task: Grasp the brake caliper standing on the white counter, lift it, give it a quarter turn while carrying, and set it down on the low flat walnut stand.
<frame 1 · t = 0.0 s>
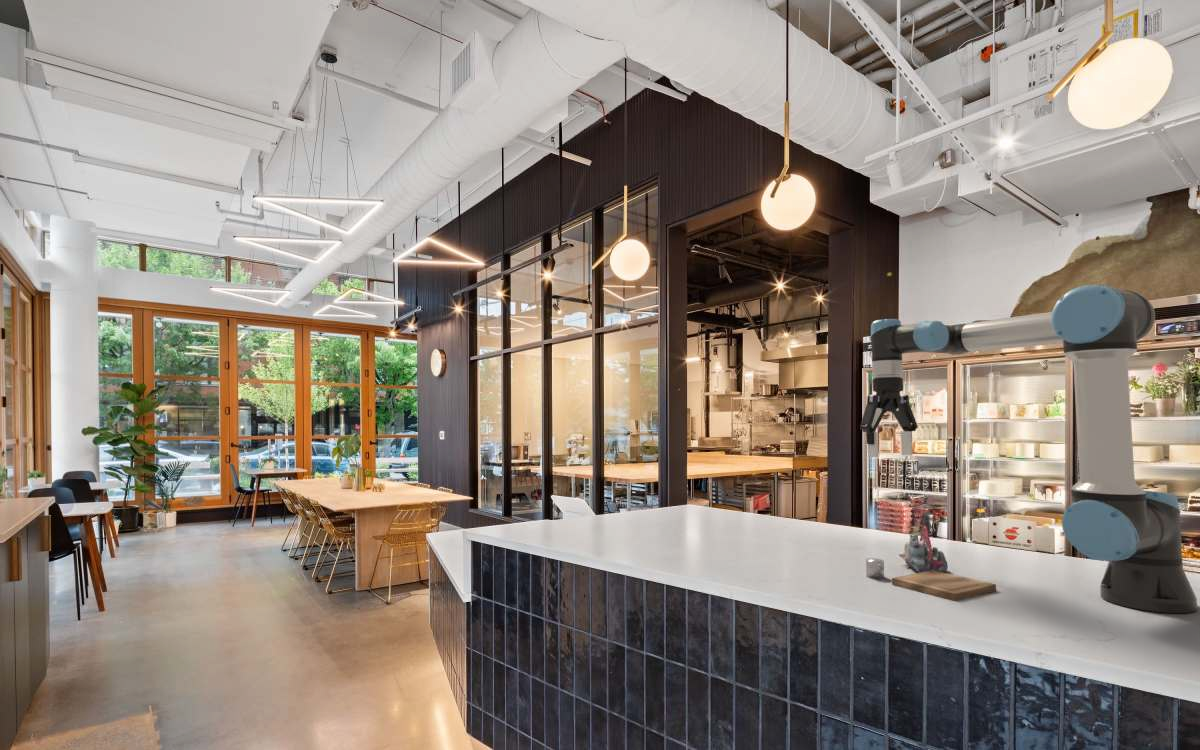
hand: (890, 456, 169), 28 cm above the counter, fingers open, 13 cm apart
stand: (943, 587, 143), on the counter
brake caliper: (924, 571, 159), on the counter
grey metallic cube: (875, 576, 153), on the counter
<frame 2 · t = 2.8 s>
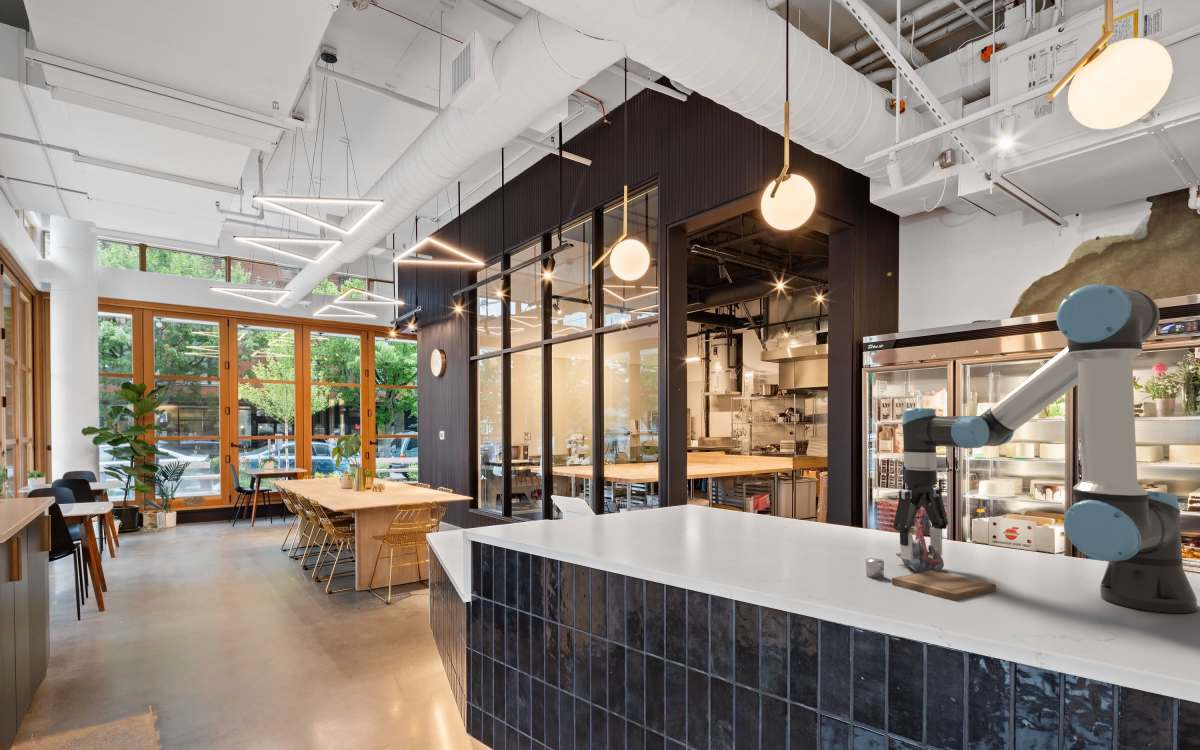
hand: (921, 556, 159), 3 cm above the counter, fingers open, 11 cm apart
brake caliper: (921, 569, 160), on the counter, touching gripper
everything else where it was.
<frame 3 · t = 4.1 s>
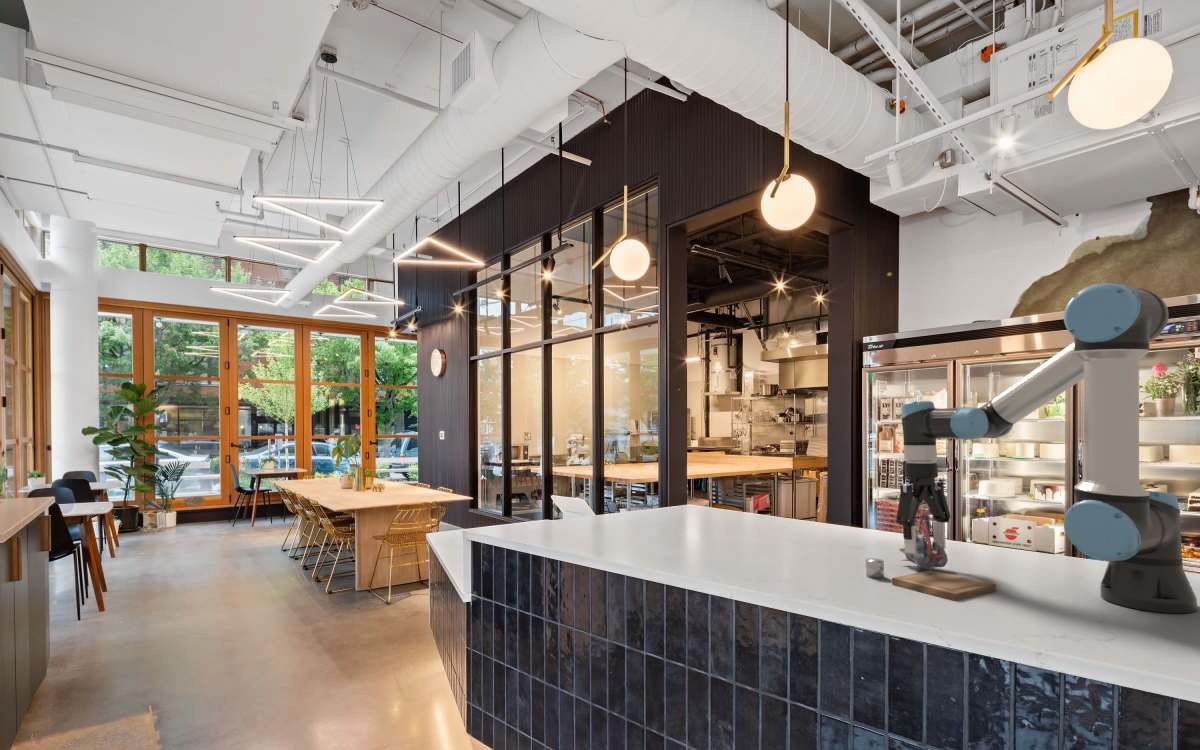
hand: (925, 550, 159), 5 cm above the counter, fingers closed on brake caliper, 11 cm apart
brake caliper: (924, 565, 159), point 1 cm above the counter, touching gripper
everything else where it was.
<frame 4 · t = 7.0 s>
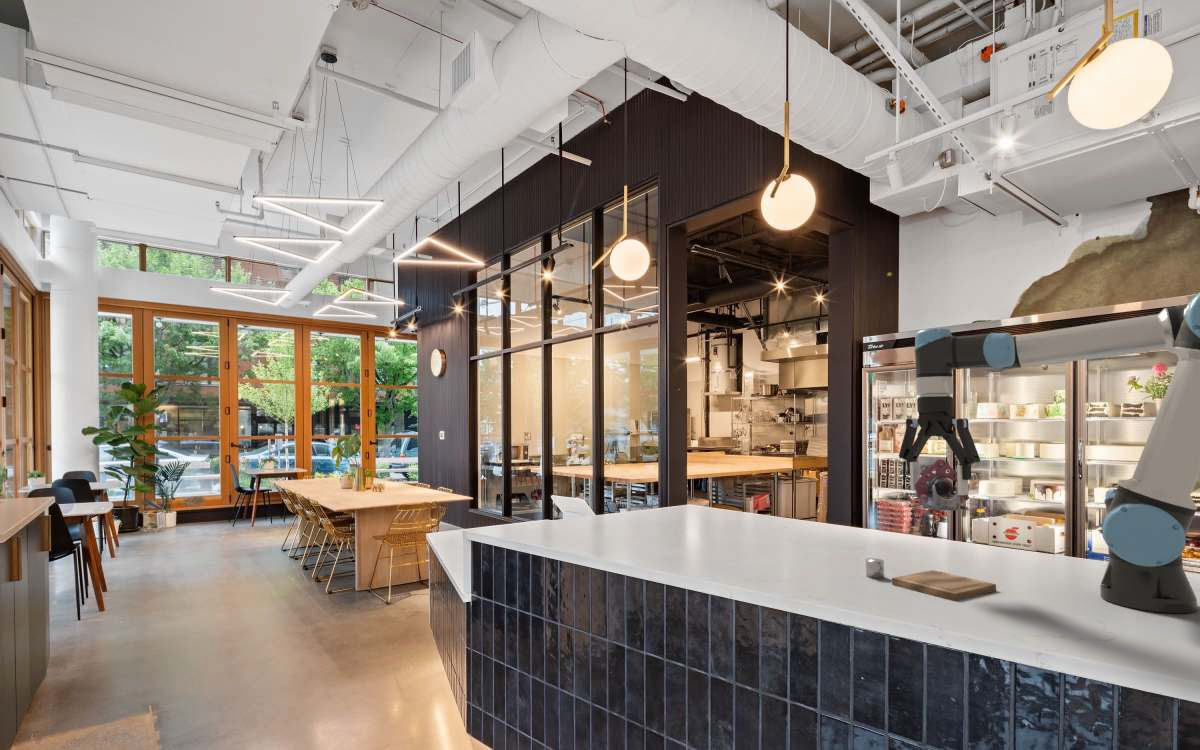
hand: (938, 492, 145), 21 cm above the counter, fingers closed on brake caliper, 11 cm apart
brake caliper: (942, 508, 144), point 18 cm above the counter, touching gripper
everything else where it was.
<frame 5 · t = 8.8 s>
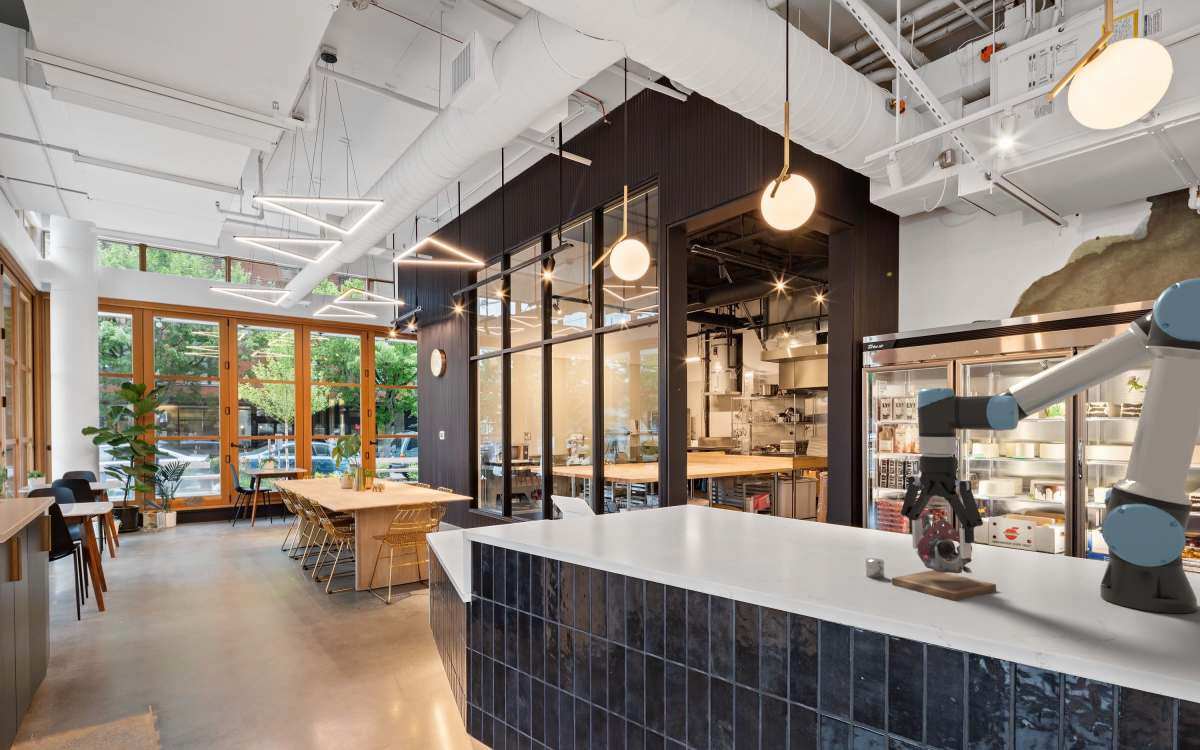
hand: (941, 552, 144), 8 cm above the counter, fingers closed on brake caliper, 11 cm apart
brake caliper: (944, 569, 144), point 4 cm above the counter, touching gripper
everything else where it was.
when the fingers open (5 cm above the counter, at t = 9.9 s): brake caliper stays where it is, resting on stand.
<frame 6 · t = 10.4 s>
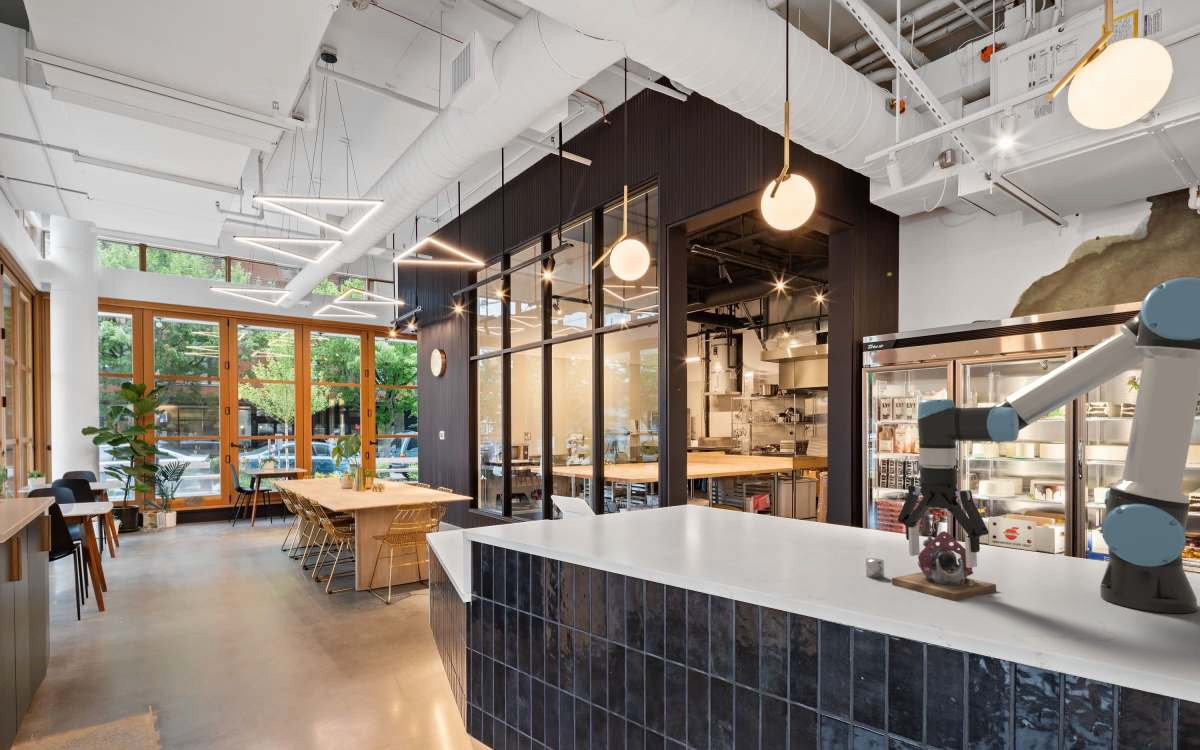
hand: (941, 560, 144), 6 cm above the counter, fingers open, 13 cm apart
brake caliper: (945, 581, 143), point 1 cm above the counter, touching stand
everything else where it was.
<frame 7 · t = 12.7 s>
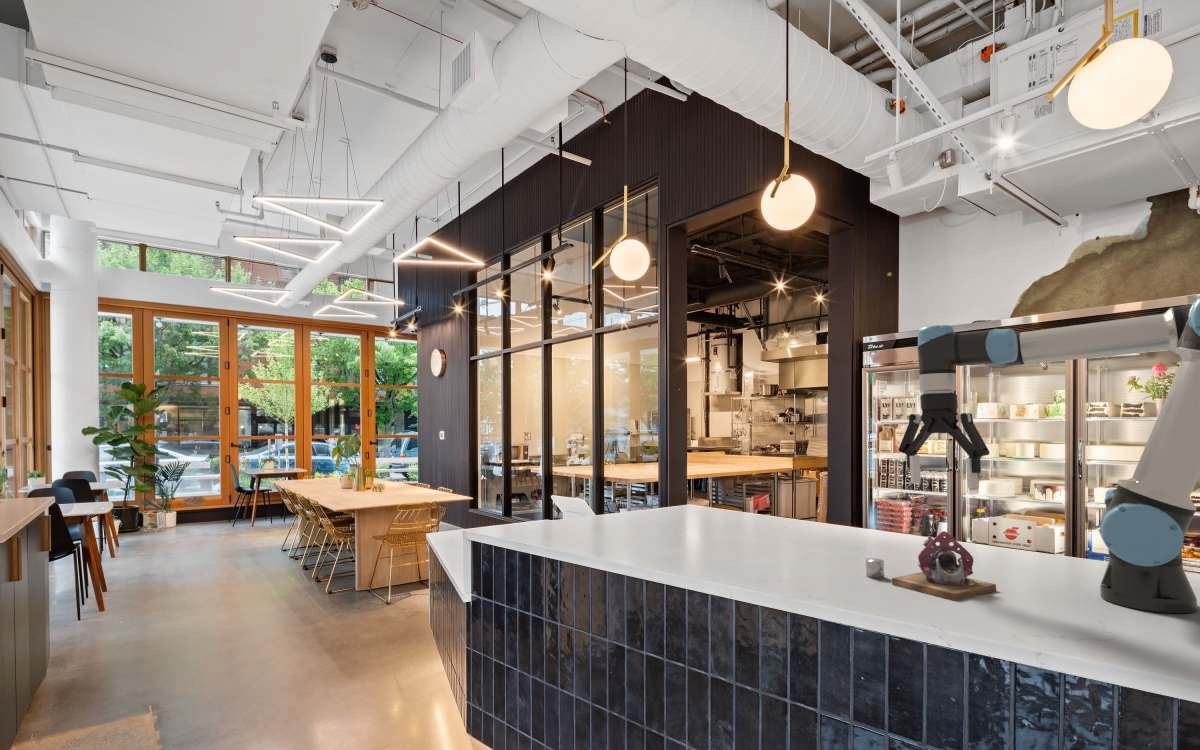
hand: (943, 485, 145), 23 cm above the counter, fingers open, 13 cm apart
nothing on the counter moved.
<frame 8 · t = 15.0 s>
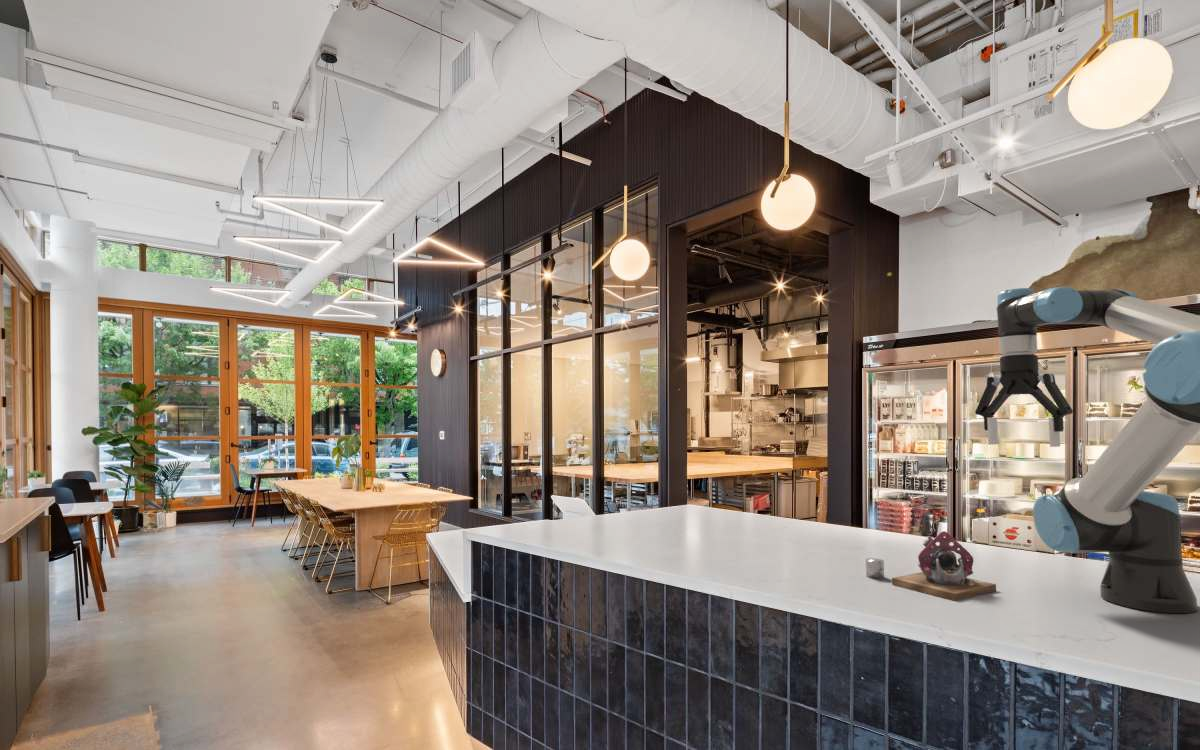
hand: (1022, 445, 148), 32 cm above the counter, fingers open, 13 cm apart
nothing on the counter moved.
at the end: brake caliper inside the target area on the stand (0.8 cm from its centre), point 1.3 cm above the stand's base; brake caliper touching stand; the gripper is holding nothing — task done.
